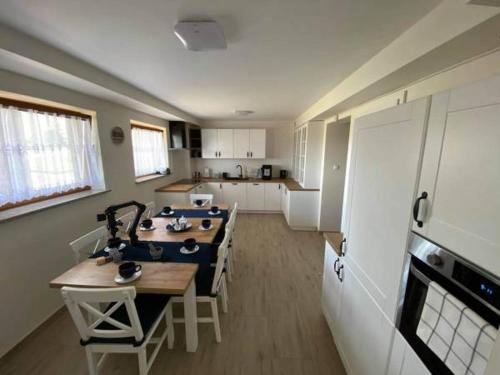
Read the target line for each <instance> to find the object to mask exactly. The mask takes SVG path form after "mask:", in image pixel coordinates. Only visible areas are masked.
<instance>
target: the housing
mask: <svg viewBox="0 0 500 375" xmlns="http://www.w3.org/2000/svg"><path fill="white" fill-rule="evenodd" d="M108 252H109V253H108V254H109V256H111V255H112V259H113V260H112V263H113V264H116V263H119V262H122V257H121V254H120V253H121V252H120V251H119V250H118V249H117V247H113V248H110V249H108Z"/></svg>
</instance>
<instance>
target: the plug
mask: <svg viewBox="0 0 500 375" xmlns="http://www.w3.org/2000/svg"><path fill="white" fill-rule="evenodd" d="M119 253H120V254H121V258H123V257H124V253H123V252H119ZM110 261H113V259H112V255H111V256H110V255H108V256H100V257H97V258H96V259H95V260H94V263H95V264H96V265H97V266H98V265H102V264H105V263H107V262H110Z"/></svg>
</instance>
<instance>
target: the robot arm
mask: <svg viewBox="0 0 500 375" xmlns="http://www.w3.org/2000/svg"><path fill="white" fill-rule="evenodd" d="M132 206H135V207H137V210H136V214H135V217H134V219H133V222H132V224H131V225H130V228H129V227H128V228H127V231H126V236H127V237H128V238H129V241H128V242H129V245H130V246H131V247H133V246H137V244H138V245H140V243H139V235H138V234H137V228H138V225H139V223H140V220H141V218H142V216H143V214H144V212H145V211H146V210H147V208H148V206H147V205H146V204H145V203H140V202H138V201H136V200H134V199H133V200H130V201H126V202H122V203H118V204H115V203H114V204H108V205H106V207H105V209H104V211H103V212H102V213H96V214H95V216H96V217H95V220H96V223H101V222H107V223H106V224H105V227H106V229H107V231H108V232H109V233H110V236H112V238H113V239H116V237H117V233H118V232H119V231H120V228H119V227H123V226H124V222H123V221H122V220H121V219H117V220H116V215H118V212H117V211H118V210H121V209H125V208H129V207H132Z"/></svg>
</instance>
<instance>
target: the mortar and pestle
mask: <svg viewBox="0 0 500 375" xmlns="http://www.w3.org/2000/svg"><path fill="white" fill-rule="evenodd" d="M148 246H149V248H150V249H149V254H150V256H151V257H152V259H153V260H158V259H161V258H162V256H161V255H162V253H163V251H164V248H163V247H161V246H154V245H153V242H152V243H151V242H150V243H149V244H148Z"/></svg>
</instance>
